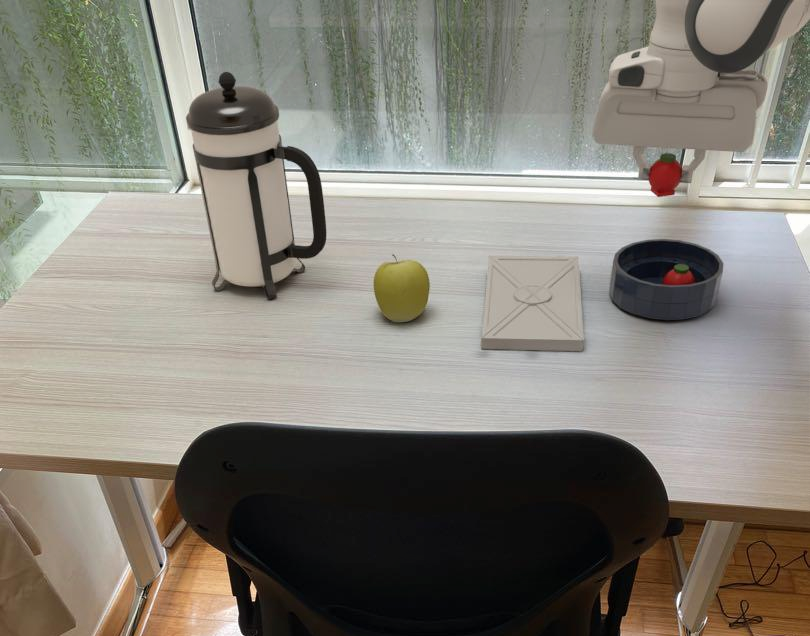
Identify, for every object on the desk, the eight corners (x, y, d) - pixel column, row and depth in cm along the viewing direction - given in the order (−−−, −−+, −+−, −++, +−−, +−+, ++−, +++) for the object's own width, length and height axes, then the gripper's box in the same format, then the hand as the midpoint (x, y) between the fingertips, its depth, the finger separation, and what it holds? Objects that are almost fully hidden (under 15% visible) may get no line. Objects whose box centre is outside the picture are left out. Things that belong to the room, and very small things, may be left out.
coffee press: (222, 313, 130) (178, 97, 110) (205, 268, 142) (163, 65, 121) (334, 292, 134) (312, 79, 113) (309, 250, 145) (285, 49, 125)
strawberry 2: (669, 184, 120) (676, 148, 117) (684, 196, 117) (691, 159, 114) (640, 189, 120) (645, 152, 116) (654, 201, 117) (660, 163, 113)
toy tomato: (692, 293, 128) (698, 261, 125) (690, 307, 125) (696, 275, 122) (661, 290, 129) (666, 258, 126) (659, 304, 126) (664, 272, 123)
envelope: (481, 350, 120) (582, 352, 119) (481, 336, 119) (583, 338, 117) (488, 267, 137) (577, 268, 136) (488, 254, 136) (578, 255, 134)
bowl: (717, 278, 132) (724, 243, 128) (713, 328, 122) (721, 292, 118) (615, 269, 136) (620, 235, 132) (603, 317, 125) (607, 281, 121)
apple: (431, 324, 123) (408, 258, 118) (380, 334, 127) (355, 271, 121) (443, 298, 129) (422, 234, 123) (394, 308, 132) (371, 246, 126)
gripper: (770, 62, 108) (745, 176, 117) (603, 56, 112) (591, 166, 122) (771, 78, 103) (745, 194, 113) (597, 71, 108) (585, 183, 117)
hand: (664, 180), depth 117 cm, fingers closed on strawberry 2, 4 cm apart
